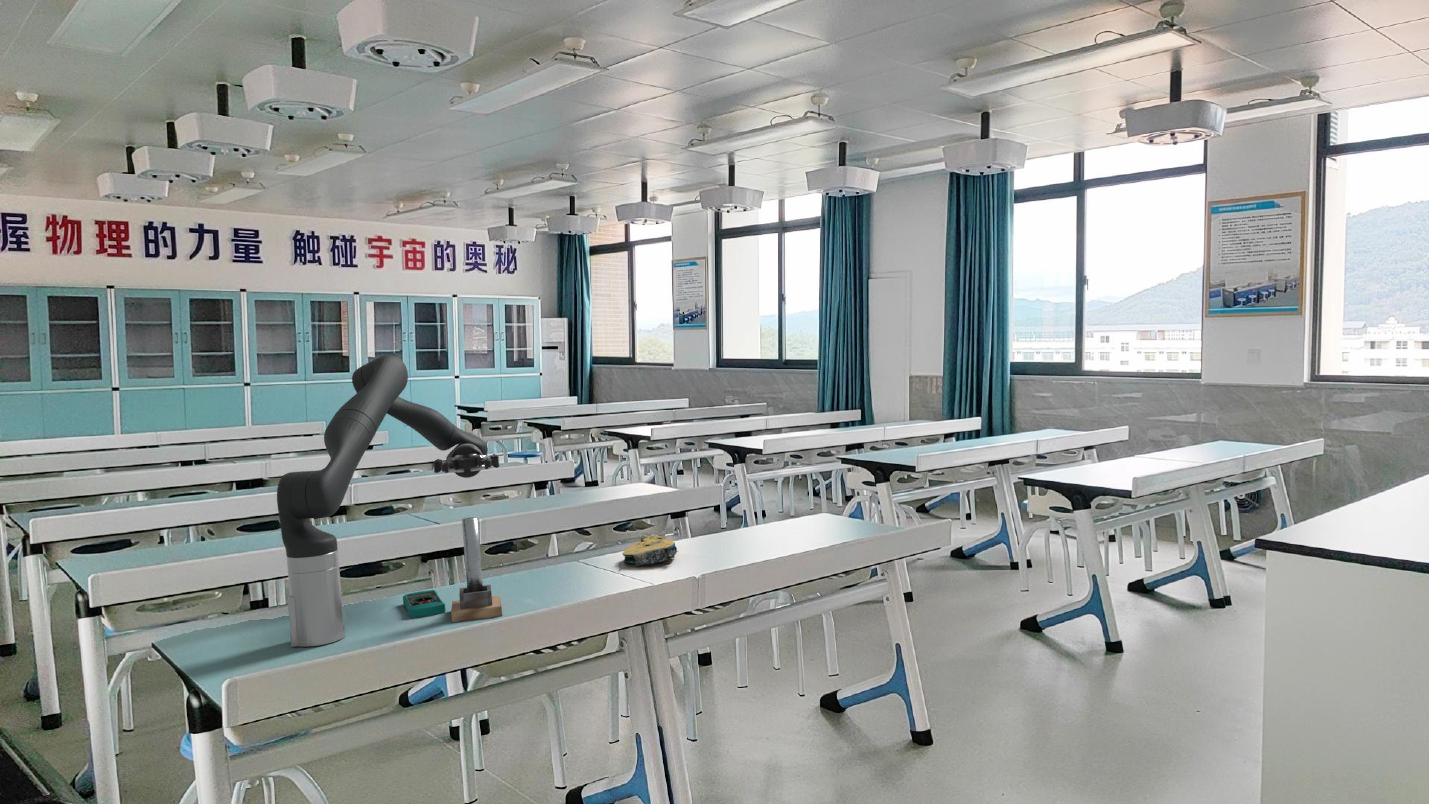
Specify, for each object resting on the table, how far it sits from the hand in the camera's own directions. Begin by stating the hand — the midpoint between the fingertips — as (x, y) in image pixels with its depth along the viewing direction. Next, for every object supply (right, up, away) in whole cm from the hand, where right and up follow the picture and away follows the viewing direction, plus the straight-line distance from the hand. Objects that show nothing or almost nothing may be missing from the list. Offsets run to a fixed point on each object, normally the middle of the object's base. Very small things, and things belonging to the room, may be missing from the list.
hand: (466, 466), depth 206 cm
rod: (+5, -28, -9) cm, 30 cm away
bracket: (+5, -30, -10) cm, 32 cm away
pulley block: (+39, -27, +38) cm, 60 cm away
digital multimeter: (-9, -31, -2) cm, 33 cm away
